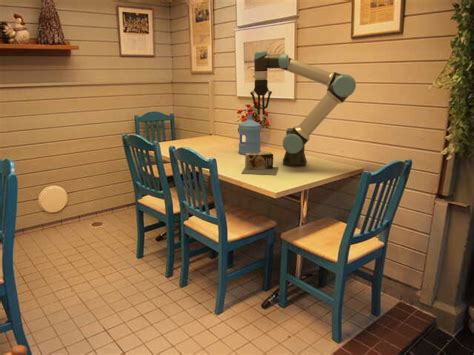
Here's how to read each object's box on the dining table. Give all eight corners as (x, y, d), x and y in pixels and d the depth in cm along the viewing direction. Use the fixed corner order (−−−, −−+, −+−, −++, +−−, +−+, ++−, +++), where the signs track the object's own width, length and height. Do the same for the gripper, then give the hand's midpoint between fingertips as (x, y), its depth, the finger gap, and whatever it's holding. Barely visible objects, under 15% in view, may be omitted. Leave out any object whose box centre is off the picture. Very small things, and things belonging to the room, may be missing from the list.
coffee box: (246, 155, 225) (273, 154, 227) (245, 152, 231) (270, 151, 233) (246, 170, 227) (273, 168, 230) (245, 167, 233) (270, 166, 236)
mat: (278, 167, 234) (278, 167, 234) (275, 175, 217) (276, 174, 217) (246, 166, 237) (246, 165, 237) (241, 173, 220) (241, 173, 220)
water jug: (260, 151, 282) (261, 113, 274) (259, 155, 267) (260, 115, 259) (239, 150, 283) (239, 112, 276) (237, 155, 268) (237, 115, 261)
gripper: (272, 78, 224) (272, 119, 230) (250, 79, 225) (250, 119, 231) (272, 79, 216) (272, 120, 223) (249, 79, 218) (250, 121, 224)
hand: (261, 120), depth 227 cm, fingers closed
